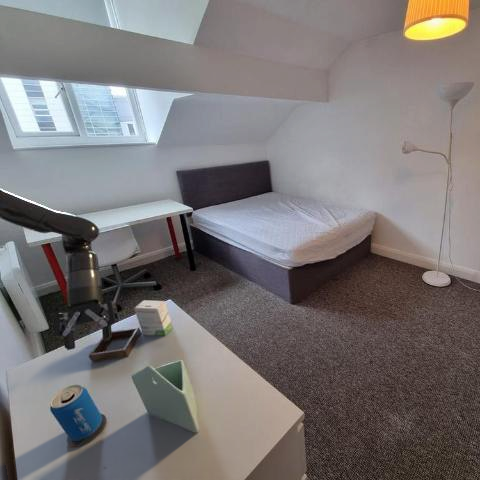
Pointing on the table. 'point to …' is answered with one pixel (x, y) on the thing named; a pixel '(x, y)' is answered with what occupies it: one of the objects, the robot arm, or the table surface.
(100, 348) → the tray
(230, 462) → the table surface
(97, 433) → the coaster
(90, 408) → the beverage can
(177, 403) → the planter
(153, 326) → the ink box
